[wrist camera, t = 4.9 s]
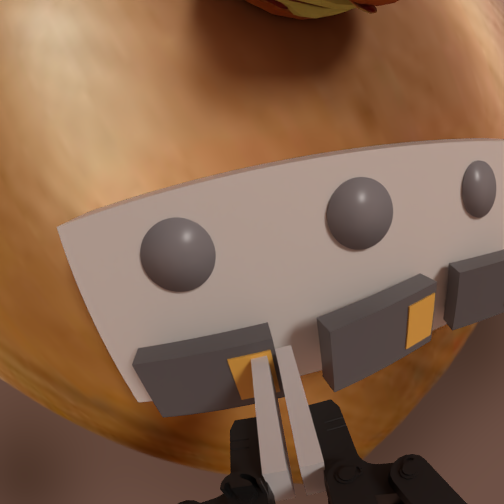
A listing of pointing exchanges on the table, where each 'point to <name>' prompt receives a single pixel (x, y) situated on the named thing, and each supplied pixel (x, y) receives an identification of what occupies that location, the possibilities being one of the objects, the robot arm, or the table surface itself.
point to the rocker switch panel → (283, 244)
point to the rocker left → (206, 371)
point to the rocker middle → (376, 331)
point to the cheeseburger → (316, 7)
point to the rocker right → (474, 289)
